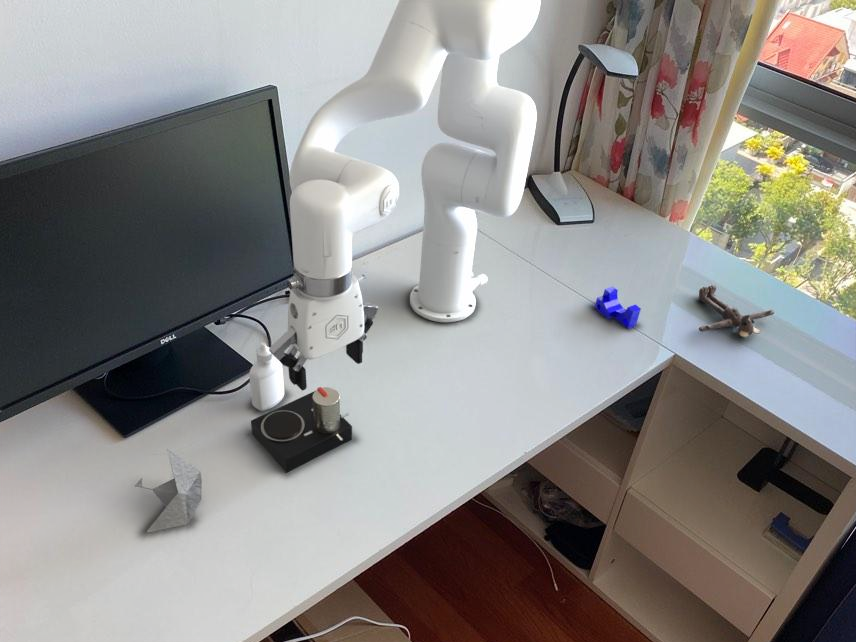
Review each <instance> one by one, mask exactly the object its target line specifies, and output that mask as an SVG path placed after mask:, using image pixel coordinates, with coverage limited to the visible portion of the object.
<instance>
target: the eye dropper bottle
mask: <svg viewBox="0 0 856 642" xmlns="http://www.w3.org/2000/svg"><path fill="white" fill-rule="evenodd" d="M270 347H271V346H270ZM270 347H269V346H267V343H266V342H261V344H260V346H259V347H258V348H257V349H256V351H255V354H256V361H255V362H254V363H253V365H251V368H250V370H249V373H248V377H249V386H250V396H251V405H252V406H253V407H254V408H255V409H257V410H258V411H260V412H263V411H264V412H265V411H267V410H270V409H272V408H274V407H275V406H277V405H278V404H279V403H280V402H281V401H282V400H283V398H284V396H285V383H284V382H285V381H284V371H283V364H282V363H281V362H280V361H279V360H278V359H277V358H276V357H275V356H274V355H273V354H272V353H271V352H270V351H269V348H270Z"/></svg>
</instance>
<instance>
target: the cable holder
mask: <svg viewBox="0 0 856 642" xmlns="http://www.w3.org/2000/svg"><path fill="white" fill-rule="evenodd" d="M618 291H619V290H618V289H617V288H616V287H615V286H610V287H606V288H604V291H603V294H602V295H600V296H598V297H596V301H595V304H594V309H595V310H596V311H597V312H599V313H600V314H601V315H602V316H603V317H605V318H606V319H607V320H610V319H613V318H615V320H617V322H619V323H620V324H622V326H624V327H625V328H627V329H631V328H633V327H637V323H638V319H639V316H640V313H641V311H642V308H641V307H640V306H638V305H637V304H633V305H630V306H627V308H624V307H623V305H622V304H621V303H620V301H619V297H618Z"/></svg>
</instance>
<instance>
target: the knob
mask: <svg viewBox="0 0 856 642" xmlns="http://www.w3.org/2000/svg"><path fill="white" fill-rule="evenodd" d="M314 391H315V392H314ZM314 391H313V392H314V394H313V419H314V428H315V429H316V430H317V431H318V432H320V433H324V434H329V433H333V432H335V431H336V430H338V428H339V426H340V415H341V413H340V412H341V411H340V410H341V409H340V408H341V407H340V405H341V404H340V403H341V401H340V399H341V398H340V393H339V391H337V390H336V389H335V388H333V387H329V386H327V387H322V386H319V387H317V389H316V390H314Z"/></svg>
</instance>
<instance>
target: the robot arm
mask: <svg viewBox="0 0 856 642" xmlns="http://www.w3.org/2000/svg"><path fill="white" fill-rule="evenodd" d="M540 9H541V0H398V3H397V5H396V7H395V10H394V11H393V14H392V17H391V19H390V21H389V23H388V25H387V28H386V30H385V32H384V34H383V36H382V38H381V41H380V43H379V46H378V48H377V50H376V52H375V54H374V56H373V59H372V62H371V64H370V67H369V69H368V71H367V72H366V73H365V74H364V76H363V77H360V78H359V79H357V80H356V81H353V82H352V83H350V84H349V85H347V86H345V87H344V88H342V89H341V90H339V91H338V92H337V93H335V94H334V95H333V96H331V98H329V99H328V100H327V101H325V102H324V104H322V105H321V106H320V107H319V108H318V109H317V111H316V112H315V113H314V114H313V116H312V117H311V119H310V120H309V122H308V124H307V126H306V128H305V130H304V133H303V135H302V137H301V140H300V142H299V143H298V146H297V148H296V151H295V154H294V156H293V159H292V162H291V166H290V170H289V187H290V190H291V193H290V197H289V215H290V231H291V244H292V246H291V247H292V260H293V267H292V274H293V276H291V277H290V278H288V279H287V280H286V286H287V288H288V289H289V290H290V291H289V297H288V306H287V331H286V332H285V333H284V334H282V335H281V336H280V337H279V338H278V339H277V340H276V341H275V342H274V343H273V344H271V346H270V348H269V351H270V352H271V353H272V355H273V356H275V357H276V358H277V359H278V360H279V361H280V362H281V363H282V366H285V367H287V368H288V378H289V381H290V382H291V384H293V385H294V386H295V385H296V386H297V388H299V389H300V390H301V391H304V390H306V389H307V388H308V385H307V371H306V367H304V365H305V363H306V362H307V360H308V361H311V360H315V359H318V358H320V357H323V356H325V355H327V354H329V353H332V352H334V351H336V350H338V349H341V348H344V347H345V348H346V349H345V353H346V355H347V356H348V357H349V358H350V359H351V360H352V361H354V362H355V363H356V364H357V365H360V364H362V363H363V353H364V341H366V339H367V337H368V335H367V333H368V332H369V330H370V329H371V327H372V326H373V325H374V319H375V317H376V315H377V312H378V311H379V307H378V306H377V305H375V303H373V302H367V301H363V296H362V291H361V286H360V283H359V280H358V277H357V275H356V274H354V273H353V236H354V235H355V234H357V233H360V232H361V231H364V230H367V229H369V228H371V227H373V226H375V225H377V224H379V223H381V222H382V221H383V220H385V219H386V218H387V217H388V216H389V215H390V214H391V213H392V212H393V211H394V210H395V208H396V205H397V203H398V201H399V196H400V184H399V181H398V179H397V176H395V174H394V173H392V172H391V171H390V170H388V169H387V168H385V167H383V166H380V165H379V164H378V165H377V164H374V163H371V162H368V161H364V160H362V159H359V158H356V157H353V156H350V155H347V154H343V153H341V152H337V151H336V148H337V146H338V145H339V144H340V143H341V141H342V140H343V139H344V138H345V137H346V136H347V135H348V134H349V133H350V132H352V131H353V130H355V129H356V128H358V127H361V126H363V125H365V124H368V123H373V122H376V121H380V120H386V119H391V118H395V117H400V116H405V115H410V114H411V115H412V114H414V113H417V112H418V111H421V110H422V109H423V108H424V107H425V106H426V104H427V103H428V100H429V98H430V95H431V93H432V90H433V88H434V86H435V83H436V81H437V79H438V77H439V75H440V72H441V78H440V86H439V95H438V105H437V125H438V127H439V130H440V131H441V132H442V133H443V134H444V135H446V136H447V137H449V138H452V139H454V140H457V141H459V142H464V143H467V144H470V145H475V146H477V147H480V148H484V149H487V150H491V151H493V152H494V153H495V154H493V153H490V152H486V151H483V150H481V149H477V148H474V147H471V146H468V145H464V144H460V143H455V142H439V143H437V144H434V145H433V146H432V147H430V148H429V149H428V151H427V152H426V154H425V155H424V157H423V160H422V165H421V172H420V173H421V176H420V177H421V185H422V193H423V226H422V227H423V228H422V237H421V238H422V239H421V240H422V241H421V253H420V264H419V265H420V267H419V282H418V284H417V285H416V286H415V287H413V288H412V290H411V292H410V293H409V304H410V307H411V308H412V310H413V311H414V313H416V314H417V315H418V316H420V317H421V318H424V319H425V320H429V321H433V322H436V323H437V322H438V323H454V322H459V321H462V320H465V319H466V318H469V316H471V315H472V314H473V312H474V311H475V308H476V303H477V300H476V296H475V294H474V293H473V291H475V290H476V289H477V287H480V286H482V285H485V284H487V283H488V276H487V275H486V274H485V273H480V274H479V275H476V276H475V277H474V272H473V271H472V270H473V262H474V254H475V245H476V240H477V233H478V232H477V231H478V220H477V217H476V216H477V215H476V212H478V213H481V214H484V215H487V216H491V217H495V218H500V219H501V218H509V217H510V216H512V215H513V214H514V213H515V212H516V211H517V209H518V208H519V205H520V203H521V200H522V198H523V194H524V190H525V186H526V181H527V180H526V179H527V174H528V170H529V164H530V159H531V154H532V149H533V143H534V138H535V133H536V127H537V107H536V104H535V102H534V100H533V99H532V97H531V96H530V95H528V94H527V93H525V92H523V91H521V90H518V89H513V88H509V87H506V86H502V85H500V84H499V83H498V81H497V73H498V66H499V61H500V55H502V54H503V53H505V52H506V51H508V50H509V49H510V48H512V47H514V46H515V45H517V44H519V43H520V42H521V41H522V40H523V39H524V38H526V37H527V36H528V34H529V33H530V32H531V31H532V29H533V28H534V25H535V24H536V21H537V19H538V16H539V13H540ZM286 350H287V352H286ZM298 352H299V355H298V356H297V357H296V355H297V353H298Z"/></svg>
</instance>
